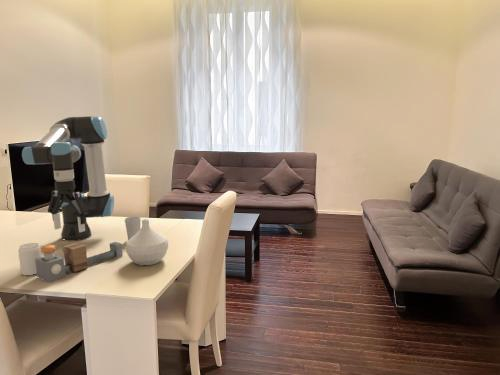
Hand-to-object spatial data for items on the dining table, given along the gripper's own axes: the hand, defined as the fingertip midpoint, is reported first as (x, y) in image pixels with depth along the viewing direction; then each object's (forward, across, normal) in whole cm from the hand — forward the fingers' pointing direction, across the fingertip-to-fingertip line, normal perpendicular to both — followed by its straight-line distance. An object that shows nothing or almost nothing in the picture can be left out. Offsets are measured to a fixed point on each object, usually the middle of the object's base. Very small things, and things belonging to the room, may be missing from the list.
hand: (69, 230), depth 172 cm
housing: (+18, -2, -10) cm, 20 cm away
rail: (+18, +2, +8) cm, 19 cm away
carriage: (+18, 0, +1) cm, 18 cm away
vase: (+18, +24, +19) cm, 36 cm away
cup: (+18, -3, +43) cm, 47 cm away
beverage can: (+18, -14, -9) cm, 24 cm away
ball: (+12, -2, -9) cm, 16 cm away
